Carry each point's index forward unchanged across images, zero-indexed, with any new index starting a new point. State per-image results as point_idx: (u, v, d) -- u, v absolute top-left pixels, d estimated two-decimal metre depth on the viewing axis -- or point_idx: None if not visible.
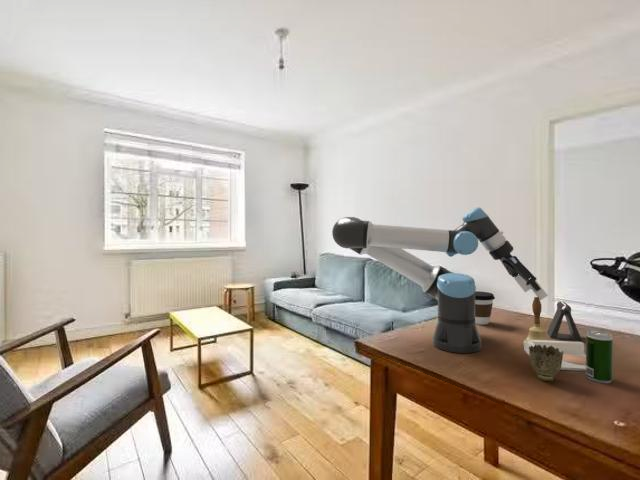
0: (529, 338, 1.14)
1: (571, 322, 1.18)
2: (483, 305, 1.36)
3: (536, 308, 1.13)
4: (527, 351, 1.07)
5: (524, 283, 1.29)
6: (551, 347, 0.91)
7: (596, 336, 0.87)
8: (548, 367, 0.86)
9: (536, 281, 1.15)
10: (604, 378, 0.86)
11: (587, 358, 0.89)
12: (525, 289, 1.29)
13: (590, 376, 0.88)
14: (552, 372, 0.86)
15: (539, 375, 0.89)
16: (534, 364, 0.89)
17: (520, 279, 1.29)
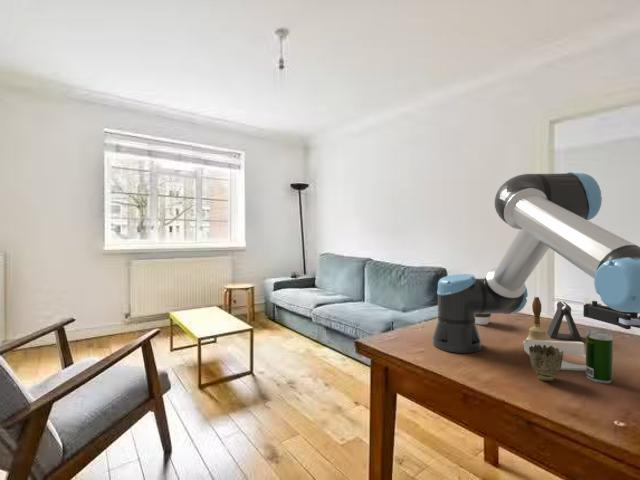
0: (529, 338, 1.14)
1: (571, 322, 1.18)
2: None
3: (536, 308, 1.13)
4: (527, 351, 1.07)
5: None
6: (551, 347, 0.91)
7: (596, 336, 0.87)
8: (548, 367, 0.86)
9: None
10: (604, 378, 0.86)
11: (587, 358, 0.89)
12: None
13: (590, 376, 0.88)
14: (552, 372, 0.86)
15: (539, 375, 0.89)
16: (534, 364, 0.89)
17: None
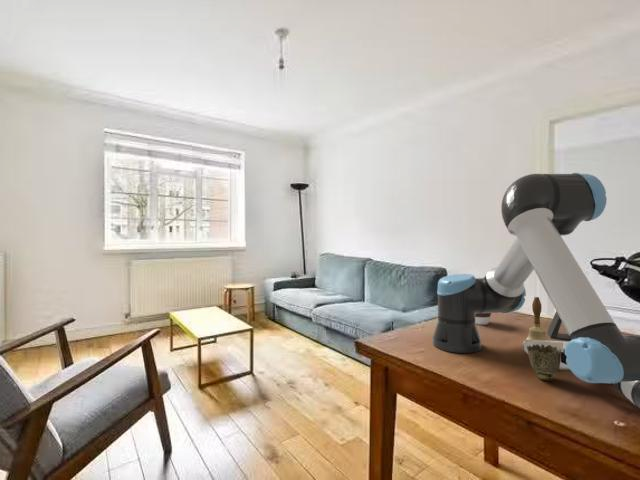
0: (529, 338, 1.14)
1: None
2: None
3: (536, 308, 1.13)
4: (527, 351, 1.07)
5: None
6: (549, 346, 0.92)
7: None
8: (547, 365, 0.87)
9: None
10: None
11: None
12: None
13: None
14: (551, 370, 0.87)
15: (539, 374, 0.89)
16: (533, 363, 0.89)
17: None
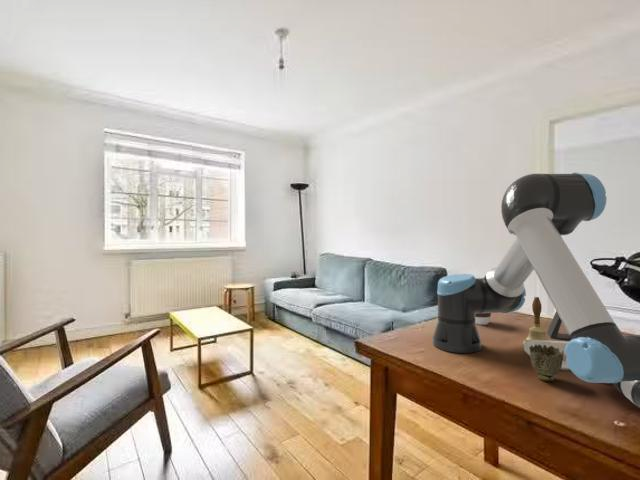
0: (529, 338, 1.14)
1: None
2: None
3: (536, 308, 1.13)
4: (527, 351, 1.07)
5: None
6: (551, 347, 0.91)
7: None
8: (549, 367, 0.86)
9: None
10: None
11: None
12: None
13: None
14: (552, 372, 0.86)
15: (539, 375, 0.89)
16: (534, 364, 0.89)
17: None
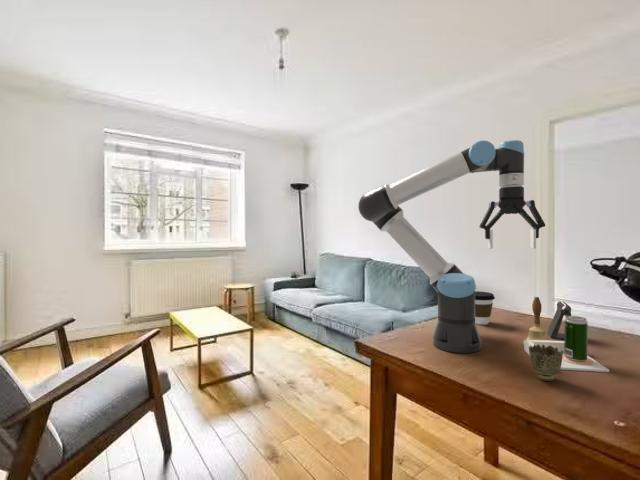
0: (529, 338, 1.14)
1: None
2: (483, 305, 1.36)
3: (536, 308, 1.13)
4: (527, 351, 1.07)
5: (532, 239, 1.18)
6: (550, 347, 0.91)
7: (574, 321, 0.98)
8: (549, 367, 0.86)
9: (490, 231, 1.20)
10: (581, 357, 0.97)
11: (566, 341, 1.00)
12: (531, 245, 1.19)
13: (569, 357, 0.99)
14: (553, 372, 0.86)
15: (539, 375, 0.89)
16: (535, 364, 0.88)
17: (532, 233, 1.18)
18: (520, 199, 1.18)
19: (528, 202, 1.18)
